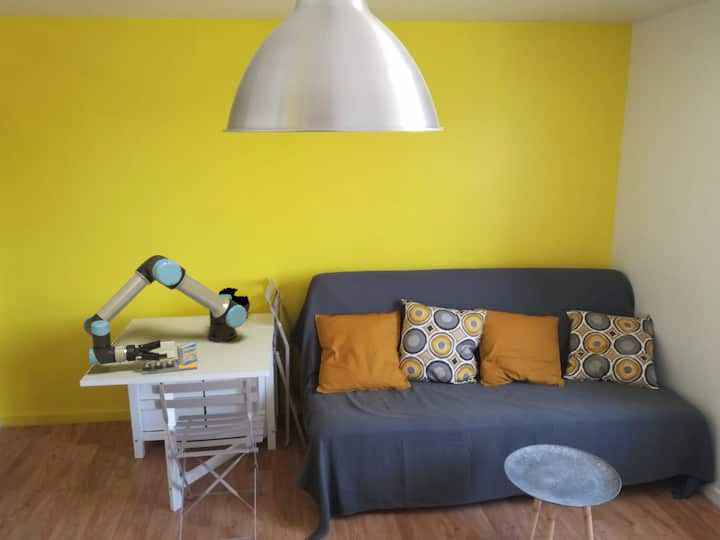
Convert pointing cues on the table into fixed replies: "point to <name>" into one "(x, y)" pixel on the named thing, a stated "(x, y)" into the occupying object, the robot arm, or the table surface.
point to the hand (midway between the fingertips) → (175, 348)
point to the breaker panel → (166, 366)
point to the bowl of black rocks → (237, 297)
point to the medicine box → (187, 353)
